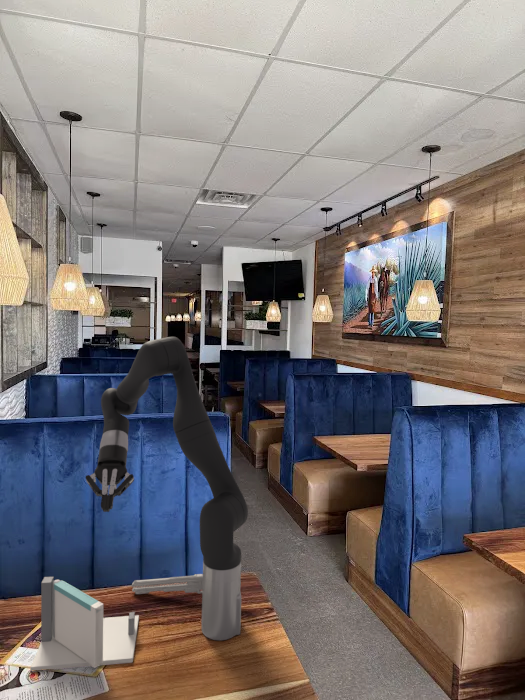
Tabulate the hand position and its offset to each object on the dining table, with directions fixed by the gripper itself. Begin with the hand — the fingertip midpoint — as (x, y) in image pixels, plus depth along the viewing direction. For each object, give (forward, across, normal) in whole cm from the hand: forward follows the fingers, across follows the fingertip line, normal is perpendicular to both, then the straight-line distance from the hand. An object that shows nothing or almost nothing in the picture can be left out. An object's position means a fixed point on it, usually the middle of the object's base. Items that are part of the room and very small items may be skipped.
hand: (106, 510), depth 120 cm
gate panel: (+29, -4, +5) cm, 30 cm away
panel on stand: (+28, -2, +9) cm, 29 cm away
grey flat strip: (+17, +21, +20) cm, 33 cm away
